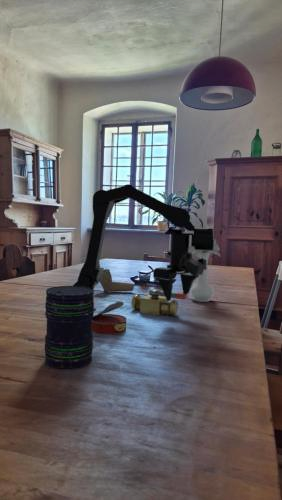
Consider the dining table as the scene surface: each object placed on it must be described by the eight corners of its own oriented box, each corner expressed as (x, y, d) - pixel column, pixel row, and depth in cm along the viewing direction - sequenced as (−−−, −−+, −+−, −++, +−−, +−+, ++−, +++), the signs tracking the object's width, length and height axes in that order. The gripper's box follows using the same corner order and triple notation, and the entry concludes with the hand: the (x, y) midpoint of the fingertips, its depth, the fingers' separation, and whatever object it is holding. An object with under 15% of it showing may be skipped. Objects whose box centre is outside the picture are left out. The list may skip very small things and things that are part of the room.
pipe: (135, 294, 143) (136, 270, 143) (95, 293, 141) (96, 269, 140) (133, 291, 150) (134, 268, 149) (95, 290, 147) (95, 267, 146)
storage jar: (72, 348, 78) (73, 284, 77) (102, 360, 72) (104, 290, 71) (34, 360, 70) (35, 289, 69) (64, 375, 64) (66, 297, 63)
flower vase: (212, 295, 145) (215, 237, 144) (222, 305, 127) (225, 239, 125) (181, 294, 146) (184, 236, 144) (187, 304, 127) (190, 237, 125)
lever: (147, 295, 113) (147, 290, 112) (151, 293, 116) (151, 288, 116) (185, 299, 107) (185, 294, 107) (188, 297, 111) (188, 292, 111)
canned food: (100, 351, 89) (83, 320, 87) (95, 335, 99) (80, 307, 96) (138, 331, 91) (123, 300, 88) (129, 317, 101) (116, 288, 98)
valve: (170, 318, 107) (171, 300, 107) (129, 310, 115) (130, 294, 114) (179, 313, 113) (179, 296, 113) (139, 306, 121) (140, 291, 120)
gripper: (183, 252, 94) (181, 307, 95) (217, 250, 108) (215, 298, 109) (153, 249, 102) (151, 300, 103) (188, 247, 116) (186, 293, 117)
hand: (177, 298), depth 108 cm, fingers open, 9 cm apart
